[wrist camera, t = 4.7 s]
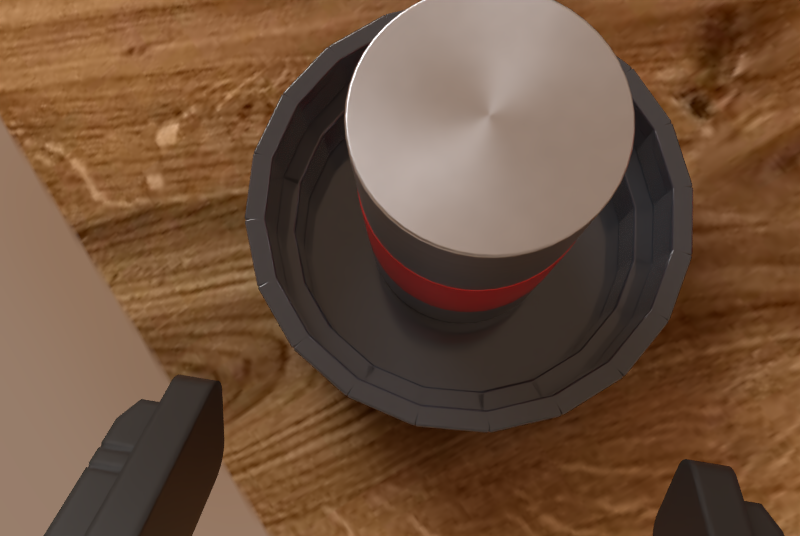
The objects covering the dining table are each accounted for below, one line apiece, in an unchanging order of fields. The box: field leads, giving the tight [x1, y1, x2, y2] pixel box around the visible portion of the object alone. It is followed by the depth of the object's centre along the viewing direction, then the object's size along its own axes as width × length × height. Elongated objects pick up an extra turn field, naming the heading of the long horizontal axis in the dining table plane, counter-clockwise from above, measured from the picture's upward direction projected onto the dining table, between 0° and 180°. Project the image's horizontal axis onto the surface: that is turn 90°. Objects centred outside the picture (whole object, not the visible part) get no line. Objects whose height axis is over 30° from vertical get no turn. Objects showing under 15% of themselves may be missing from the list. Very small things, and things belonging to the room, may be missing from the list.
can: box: [344, 0, 635, 323], centre depth 20 cm, size 6×6×10 cm
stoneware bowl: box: [245, 10, 693, 433], centre depth 24 cm, size 13×13×4 cm
